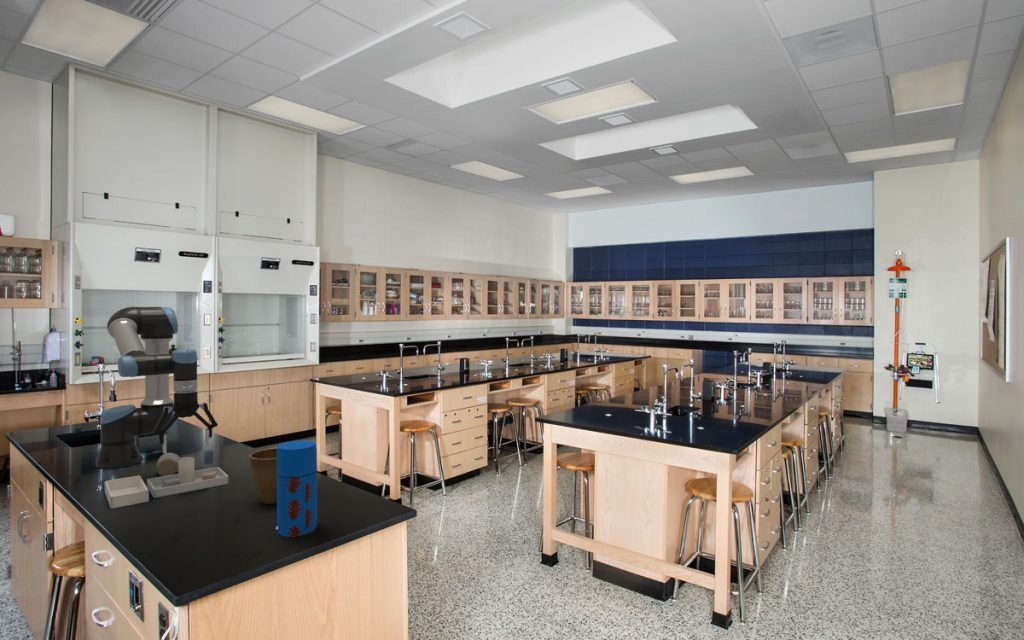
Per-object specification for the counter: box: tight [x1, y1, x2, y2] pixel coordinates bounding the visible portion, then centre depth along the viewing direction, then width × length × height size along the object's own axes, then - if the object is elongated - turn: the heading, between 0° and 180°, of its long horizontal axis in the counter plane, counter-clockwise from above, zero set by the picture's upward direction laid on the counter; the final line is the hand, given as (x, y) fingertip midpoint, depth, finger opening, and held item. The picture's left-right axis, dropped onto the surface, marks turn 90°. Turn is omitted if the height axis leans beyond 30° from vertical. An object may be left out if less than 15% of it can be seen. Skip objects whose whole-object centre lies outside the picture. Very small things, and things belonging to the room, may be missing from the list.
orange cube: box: [202, 471, 216, 481], centre depth 199 cm, size 4×4×4 cm
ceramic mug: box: [156, 452, 181, 477], centre depth 212 cm, size 11×8×8 cm
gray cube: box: [162, 478, 180, 488], centre depth 191 cm, size 4×4×4 cm
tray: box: [146, 466, 230, 499], centre depth 198 cm, size 15×23×3 cm, turn 131°
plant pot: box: [249, 447, 277, 505], centre depth 184 cm, size 15×15×16 cm
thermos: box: [276, 440, 318, 537], centre depth 160 cm, size 11×11×25 cm
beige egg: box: [178, 456, 195, 485], centre depth 201 cm, size 5×5×9 cm
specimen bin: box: [104, 474, 150, 510], centre depth 186 cm, size 21×10×4 cm, turn 41°
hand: (186, 449), depth 200 cm, fingers open, 13 cm apart
